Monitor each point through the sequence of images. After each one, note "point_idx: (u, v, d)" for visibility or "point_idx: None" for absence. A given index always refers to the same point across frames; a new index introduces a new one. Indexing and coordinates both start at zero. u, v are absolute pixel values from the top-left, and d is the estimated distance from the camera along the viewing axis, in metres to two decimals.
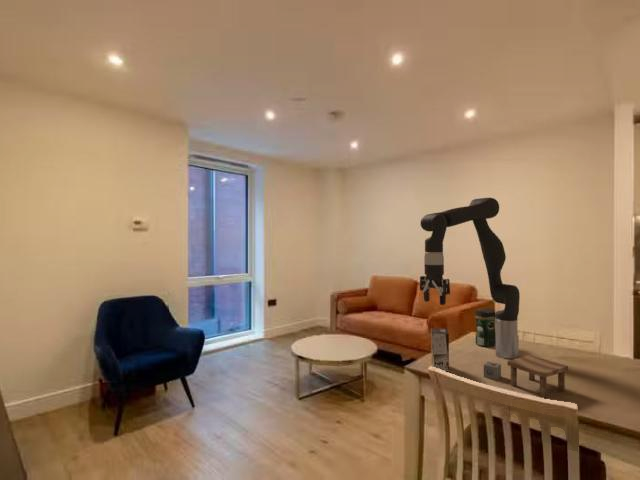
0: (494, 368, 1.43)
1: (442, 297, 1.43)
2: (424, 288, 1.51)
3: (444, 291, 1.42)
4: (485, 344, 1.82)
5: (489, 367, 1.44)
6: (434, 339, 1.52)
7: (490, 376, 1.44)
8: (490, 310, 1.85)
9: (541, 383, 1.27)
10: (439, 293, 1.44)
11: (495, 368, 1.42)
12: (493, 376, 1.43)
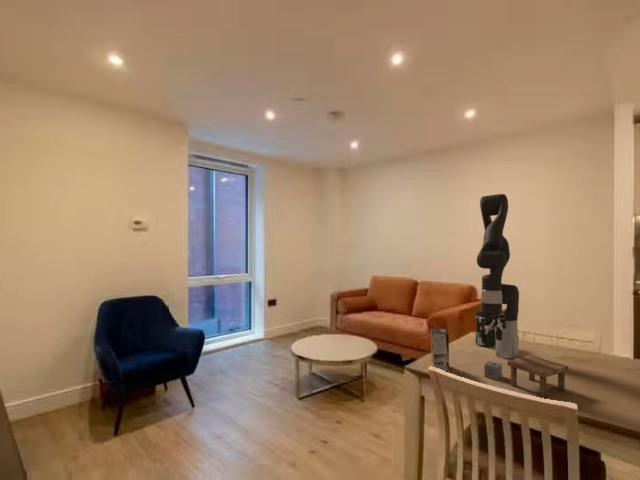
0: (495, 368, 1.43)
1: (501, 332, 1.47)
2: (487, 330, 1.42)
3: (505, 325, 1.47)
4: (485, 344, 1.82)
5: (490, 367, 1.44)
6: (434, 339, 1.52)
7: (491, 376, 1.44)
8: None
9: (541, 383, 1.27)
10: (501, 329, 1.46)
11: (496, 368, 1.43)
12: (494, 376, 1.43)
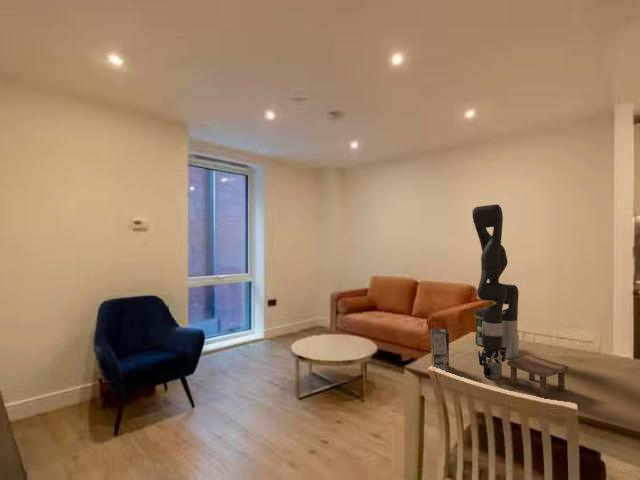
0: (495, 368, 1.43)
1: None
2: (489, 363, 1.43)
3: (504, 358, 1.47)
4: None
5: (490, 367, 1.44)
6: (434, 339, 1.52)
7: (491, 376, 1.44)
8: None
9: (541, 383, 1.27)
10: (499, 362, 1.46)
11: (496, 368, 1.43)
12: (494, 376, 1.43)
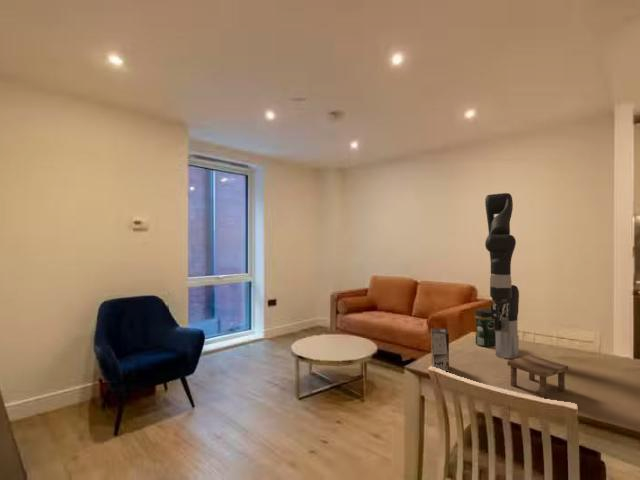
0: (505, 320, 1.40)
1: None
2: (501, 316, 1.40)
3: (509, 312, 1.46)
4: (485, 344, 1.82)
5: None
6: (434, 339, 1.52)
7: (501, 329, 1.41)
8: (490, 310, 1.85)
9: (541, 383, 1.27)
10: (506, 315, 1.44)
11: (507, 320, 1.40)
12: (504, 329, 1.40)
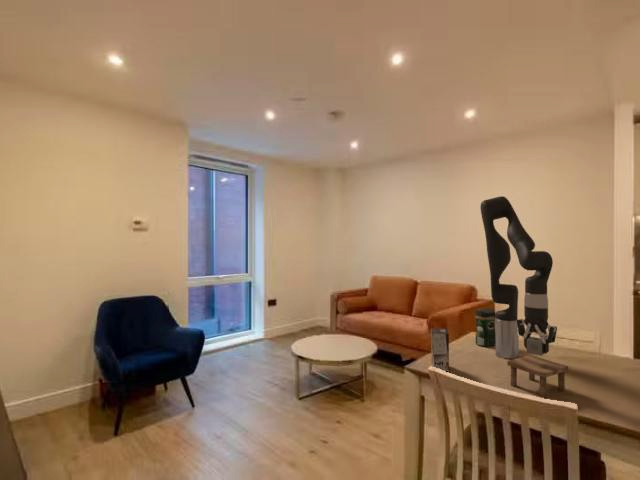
0: None
1: None
2: None
3: None
4: (485, 344, 1.82)
5: None
6: (434, 339, 1.52)
7: None
8: (490, 310, 1.85)
9: (541, 383, 1.27)
10: (530, 335, 1.38)
11: None
12: None
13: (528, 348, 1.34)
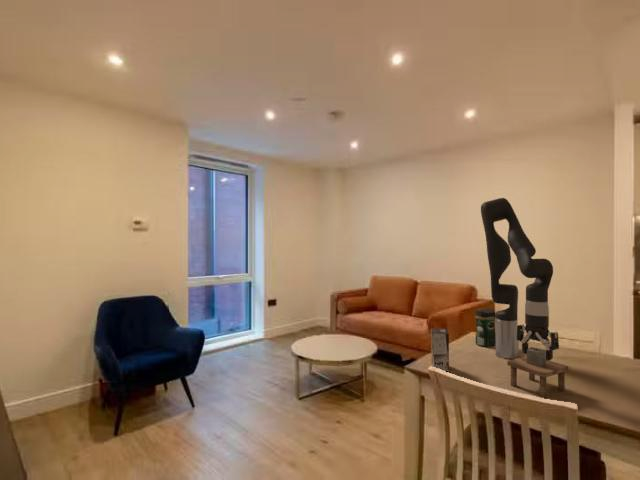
0: (545, 351, 1.34)
1: None
2: (550, 344, 1.31)
3: None
4: (485, 344, 1.82)
5: (544, 353, 1.33)
6: (434, 339, 1.52)
7: (544, 362, 1.33)
8: (490, 310, 1.85)
9: (541, 383, 1.27)
10: None
11: (545, 351, 1.34)
12: (545, 360, 1.34)
13: (528, 359, 1.34)
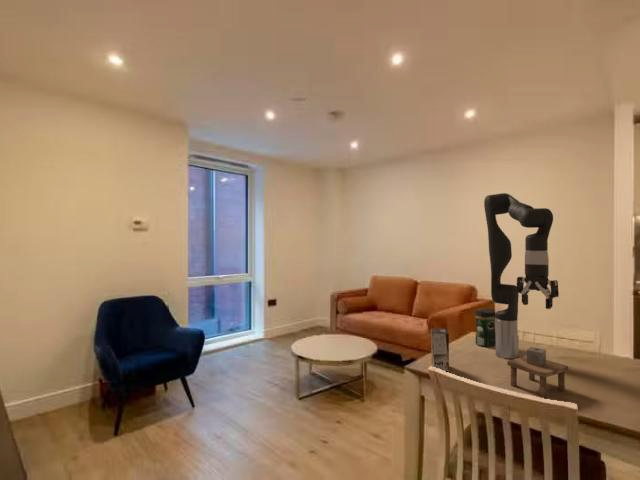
0: (545, 351, 1.34)
1: None
2: (550, 293, 1.31)
3: None
4: (485, 344, 1.82)
5: (543, 353, 1.33)
6: (434, 339, 1.52)
7: (544, 362, 1.33)
8: (490, 310, 1.85)
9: (541, 383, 1.27)
10: (528, 292, 1.38)
11: (545, 351, 1.34)
12: (545, 360, 1.34)
13: (528, 359, 1.34)
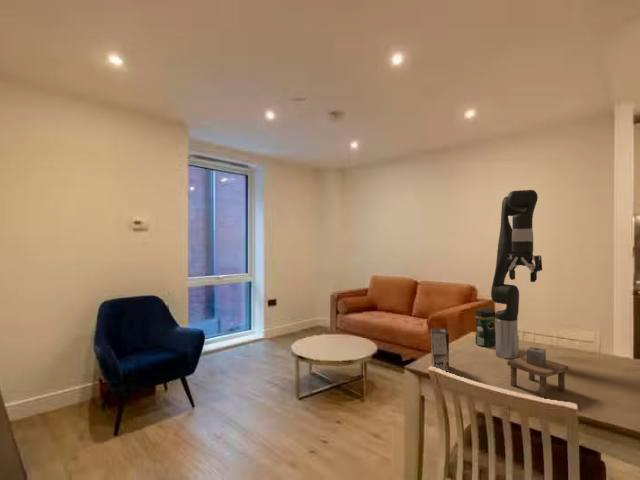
0: (545, 351, 1.34)
1: None
2: (535, 267, 1.43)
3: None
4: (485, 344, 1.82)
5: (543, 352, 1.33)
6: (434, 339, 1.52)
7: (543, 362, 1.33)
8: (490, 310, 1.85)
9: (541, 383, 1.27)
10: None
11: (545, 351, 1.35)
12: (544, 360, 1.34)
13: (528, 358, 1.35)
